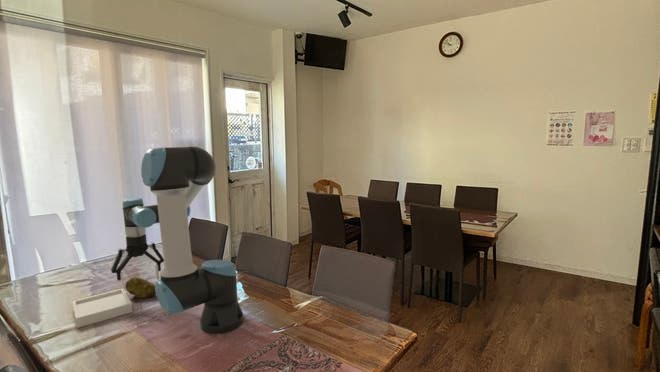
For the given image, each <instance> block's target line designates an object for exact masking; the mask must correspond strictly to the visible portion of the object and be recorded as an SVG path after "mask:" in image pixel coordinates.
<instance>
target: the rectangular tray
mask: <svg viewBox="0 0 660 372" xmlns="http://www.w3.org/2000/svg"><path fill="white" fill-rule="evenodd" d="M71 302H72V309H73V315H74V319H75V325H76V328H77V329H78V328H82V327H86V326H89V325H92V324H96V323H99V322H102V321H106V320H111V319H113V318H117V317H119V316H120V317H121V316H123V315H127V314H130V313H133V304H132V301H131V300H130V298H129V296H128V294H127V292H126V289H124V288H122V287H121V288H119V289H115V290H111V291H107V292H102V293H99V294H95V295H91V296H90V295H89V296H86V297H83V298H79V299H74V300H72V301H71Z"/></svg>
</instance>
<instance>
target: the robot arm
mask: <svg viewBox="0 0 660 372" xmlns="http://www.w3.org/2000/svg"><path fill="white" fill-rule="evenodd" d="M216 167H217V166H216V163H215V160H214V158H213V156H212V155H211V153H209V152H208V151H207V150H205V149H204V148H201V147H198V146H181V147H179V146H178V147H177V146H176V147H173V146H172V147H171V146H169V147H157V148H150V149H148V150H147V151H145V153H144V155H143V158H142V161H141V167H140V169H141V172H140V173H141V178H142V182H143V184H144V186H146V187H149V189H150V192H151V193H152V194H153V195H154V196H155V197H156V203H157V204H152V205H145V204H144V200H143V198H142V197H141V198H140V197H133V198H131V197H130V198H126V199H124V200H122V213H123V221H124V231H125V232H124V234H125V236H126V237H125V242H126V243H125V244H126V247H125V248H117V255H116V257H115V260H114V262H113V265H112V267H111V268H110V271H111V273H112V274H116V279H117V281H120V287H121V289H122V288H123V289H124V288H125V284H124V274H123V270H124V268H125V267H126V265H127V264H128V263H129V261H130V260H131V259H132V258H138V257H143V256H144V255H145V256H147V257H148V258H149V259H150V260H152V261H153V262H154V272H155V273H154V274H155V279H156V280H157V281H156V282H155V283H154V285H155V292H156V295H155V296H156V298H157V301H158V303H159V305H160V307H161V308H162V310H163V311H164V312H165V314H168V315H174V314H178V313H182V312H184V311H187V310H189V309H192V308H194V307H197V306H200V305H203V304H204V305H203V310H202V313H201V317H200V329H201V330H202V331H203V332H205V333H208V334H224V333H228V332H230V331H231V332H232V331H234V330H236V329H237V328H238V327H240V326H241V325H242V324H243V323H244V311H243V310H242V307H241V305H240V302H239V300H238V287H237V286H238V284H237V275H238V274H237V268H236V265H235V264H234V263H233V262H232V261H230V260H226V259H209V260H206V261H204V262H202V263H201V266H200V269H199V267H198V266H197V265H196V264H195V263H194V262H193V256H192V246H191V236H190V229H189V228H190V226H189V217H190V214H191V204H192V202H193V201H194V199H196V197H197V196H198V194H199V193H200V191H201V190H202V189H203V187H204V186H206V185H209V184H210V183H211V181H212V180H213V178H214V176H215V174H216ZM155 224H159V229H160V239H161V246H162V254H161V253H160V252H159V250H158V249H157V247H156V243H154V242H150V243H147V242H148V241H147V234H146V231H147V230H146V228H149V227H152V226H154V225H155ZM149 248H150V249H152V250H153V251H154V253H155V254H156V256H157V257H158V259H157V258H156V257H155V256H153V255H152V254H151V253H150V252H149V251H147V250H148V249H149ZM125 252H126V253H127V254H126V255H125V257H124V259H123V260H122V257H123V255H124V254H125ZM162 255H163V256H162ZM121 260H122V261H121ZM120 262H121V263H120ZM162 263H163V264H164V268H163V269H162V267H161V265H162Z"/></svg>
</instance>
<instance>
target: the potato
mask: <svg viewBox="0 0 660 372" xmlns="http://www.w3.org/2000/svg"><path fill="white" fill-rule="evenodd" d="M124 288H125V291H127V292H128V293H129V294H130V295H132V296H134V297H136V298H139V299H148V298H152V297H154V296H156V292H155V283H152V282H151V281H149V280H147V279H144V278H141V277H139V276H138V277H135V276H134V277H131V278H130V279H128V280H127V281H126V282H125V284H124Z"/></svg>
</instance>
